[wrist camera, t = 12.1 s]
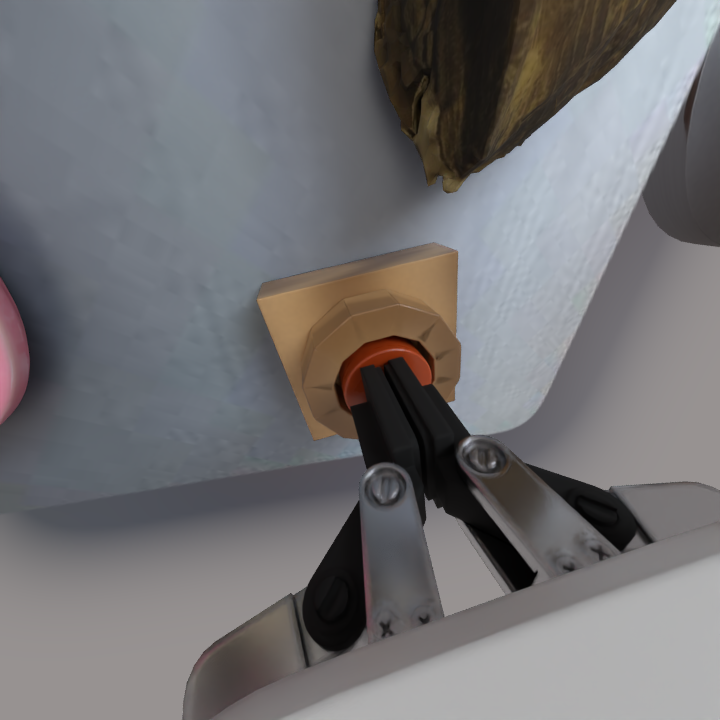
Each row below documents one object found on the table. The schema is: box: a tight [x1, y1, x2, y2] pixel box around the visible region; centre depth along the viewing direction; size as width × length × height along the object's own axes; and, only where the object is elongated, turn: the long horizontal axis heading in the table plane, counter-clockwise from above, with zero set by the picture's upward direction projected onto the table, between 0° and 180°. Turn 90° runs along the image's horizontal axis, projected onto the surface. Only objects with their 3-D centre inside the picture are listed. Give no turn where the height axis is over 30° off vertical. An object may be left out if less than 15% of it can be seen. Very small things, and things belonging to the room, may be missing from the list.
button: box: [338, 335, 432, 410], centre depth 11 cm, size 4×4×2 cm
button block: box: [257, 243, 461, 441], centre depth 13 cm, size 8×8×4 cm
